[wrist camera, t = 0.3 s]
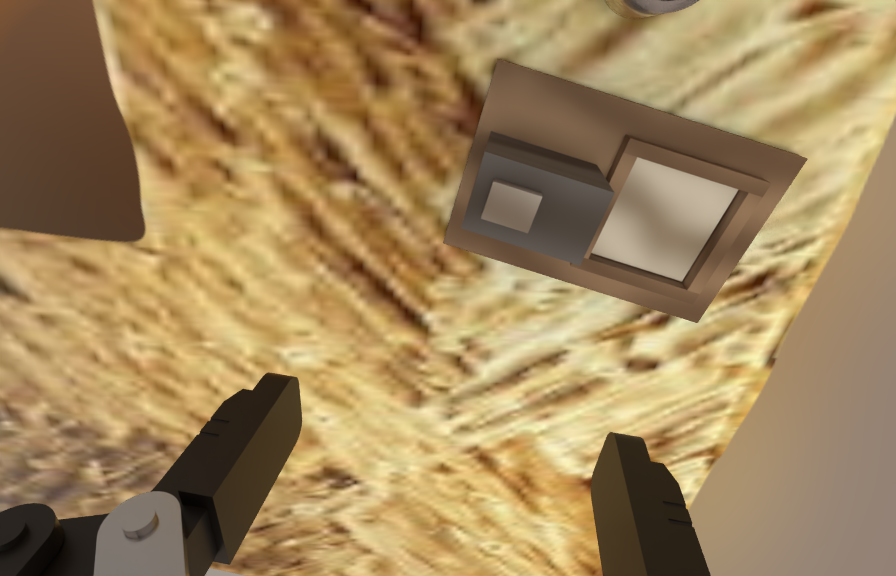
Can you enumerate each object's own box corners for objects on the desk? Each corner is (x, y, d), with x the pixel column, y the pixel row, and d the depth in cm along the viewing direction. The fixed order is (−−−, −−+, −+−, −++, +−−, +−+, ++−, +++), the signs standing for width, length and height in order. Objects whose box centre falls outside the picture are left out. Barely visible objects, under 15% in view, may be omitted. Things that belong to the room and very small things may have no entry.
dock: (498, 58, 32) (492, 64, 24) (798, 155, 32) (889, 192, 24) (445, 237, 39) (426, 288, 31) (692, 315, 39) (736, 385, 31)
